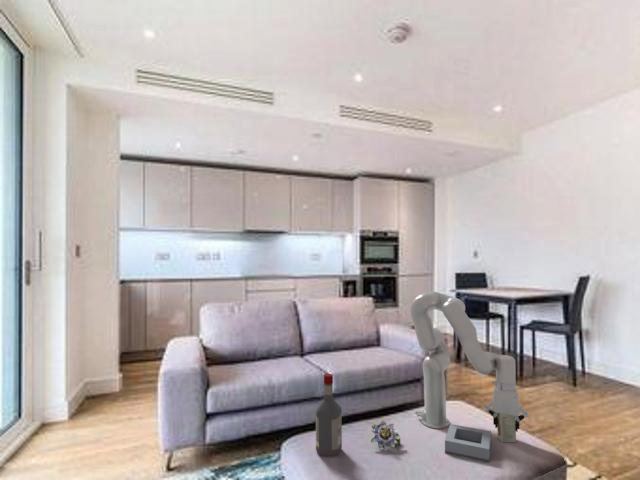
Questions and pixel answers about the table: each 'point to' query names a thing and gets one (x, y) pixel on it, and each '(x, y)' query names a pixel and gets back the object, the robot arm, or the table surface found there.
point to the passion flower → (385, 435)
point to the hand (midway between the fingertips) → (506, 428)
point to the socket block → (468, 442)
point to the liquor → (328, 422)
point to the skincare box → (506, 428)
